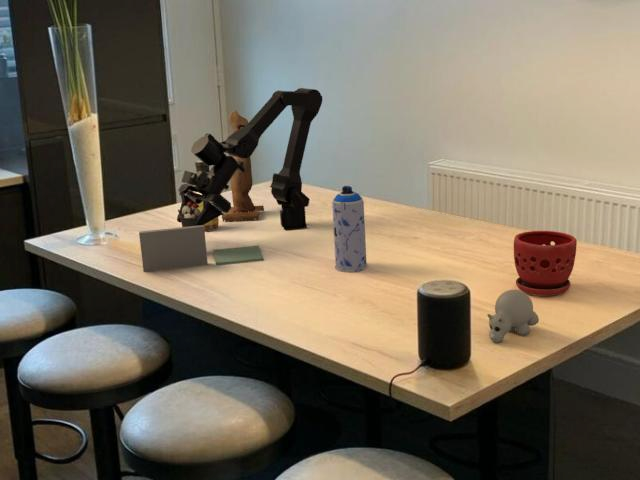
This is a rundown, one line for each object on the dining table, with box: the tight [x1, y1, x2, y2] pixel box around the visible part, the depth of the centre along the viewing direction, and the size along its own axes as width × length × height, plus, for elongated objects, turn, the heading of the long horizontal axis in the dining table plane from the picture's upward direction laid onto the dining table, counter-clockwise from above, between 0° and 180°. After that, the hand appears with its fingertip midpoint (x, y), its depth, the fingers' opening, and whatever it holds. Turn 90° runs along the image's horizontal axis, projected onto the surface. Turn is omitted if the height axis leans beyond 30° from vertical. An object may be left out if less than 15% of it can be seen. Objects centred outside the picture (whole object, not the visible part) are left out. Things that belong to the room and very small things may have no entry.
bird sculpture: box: [221, 109, 265, 223], centre depth 278 cm, size 11×12×32 cm
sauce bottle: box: [194, 159, 220, 232], centre depth 269 cm, size 7×6×20 cm
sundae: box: [176, 196, 201, 227], centre depth 248 cm, size 7×7×15 cm
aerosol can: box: [331, 185, 368, 273], centre depth 227 cm, size 8×8×20 cm
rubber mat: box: [212, 244, 264, 266], centre depth 244 cm, size 12×12×1 cm
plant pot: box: [513, 230, 578, 297], centre depth 205 cm, size 13×13×12 cm
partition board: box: [138, 225, 209, 272], centre depth 237 cm, size 16×2×10 cm, turn 99°
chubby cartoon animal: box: [486, 289, 540, 344], centre depth 182 cm, size 7×12×8 cm, turn 130°
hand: (186, 224), depth 247 cm, fingers open, 9 cm apart
